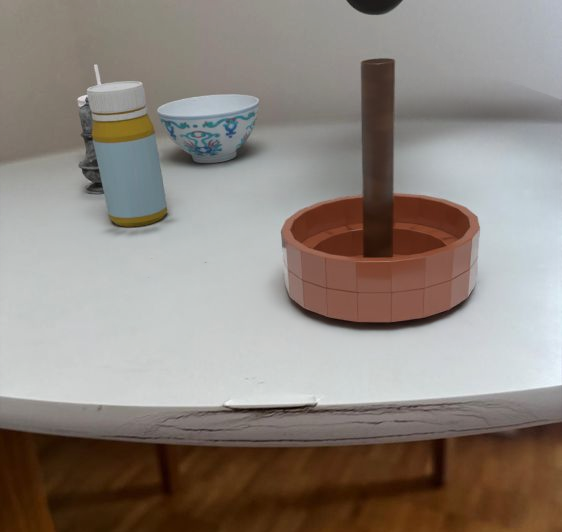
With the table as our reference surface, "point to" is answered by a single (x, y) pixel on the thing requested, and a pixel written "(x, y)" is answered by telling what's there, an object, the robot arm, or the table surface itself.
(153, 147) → the bottle
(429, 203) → the bowl
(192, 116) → the chinaware
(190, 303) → the table surface
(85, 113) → the grey tall piece
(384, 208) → the stirring stick
